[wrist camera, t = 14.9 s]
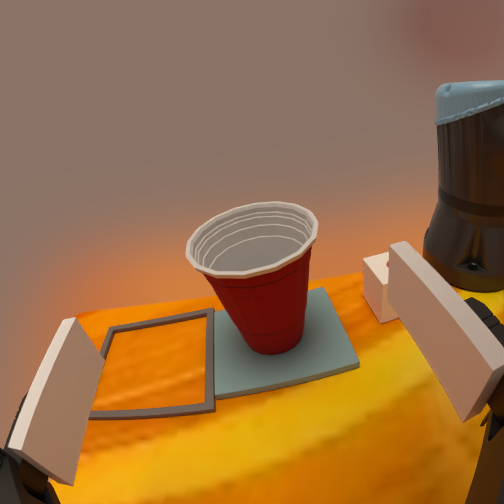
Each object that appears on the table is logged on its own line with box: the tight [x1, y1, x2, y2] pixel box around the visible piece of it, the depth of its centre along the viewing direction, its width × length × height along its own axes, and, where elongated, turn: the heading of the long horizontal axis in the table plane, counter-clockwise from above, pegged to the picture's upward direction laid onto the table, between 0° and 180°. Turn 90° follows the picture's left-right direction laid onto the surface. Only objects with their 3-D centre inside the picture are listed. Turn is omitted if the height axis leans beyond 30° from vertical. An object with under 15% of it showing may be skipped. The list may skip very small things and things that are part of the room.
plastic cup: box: [186, 201, 318, 355], centre depth 27 cm, size 11×11×12 cm
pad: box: [214, 287, 360, 400], centre depth 30 cm, size 13×12×1 cm
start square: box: [88, 307, 215, 420], centre depth 31 cm, size 15×15×1 cm
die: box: [363, 252, 399, 324], centre depth 30 cm, size 5×5×5 cm
